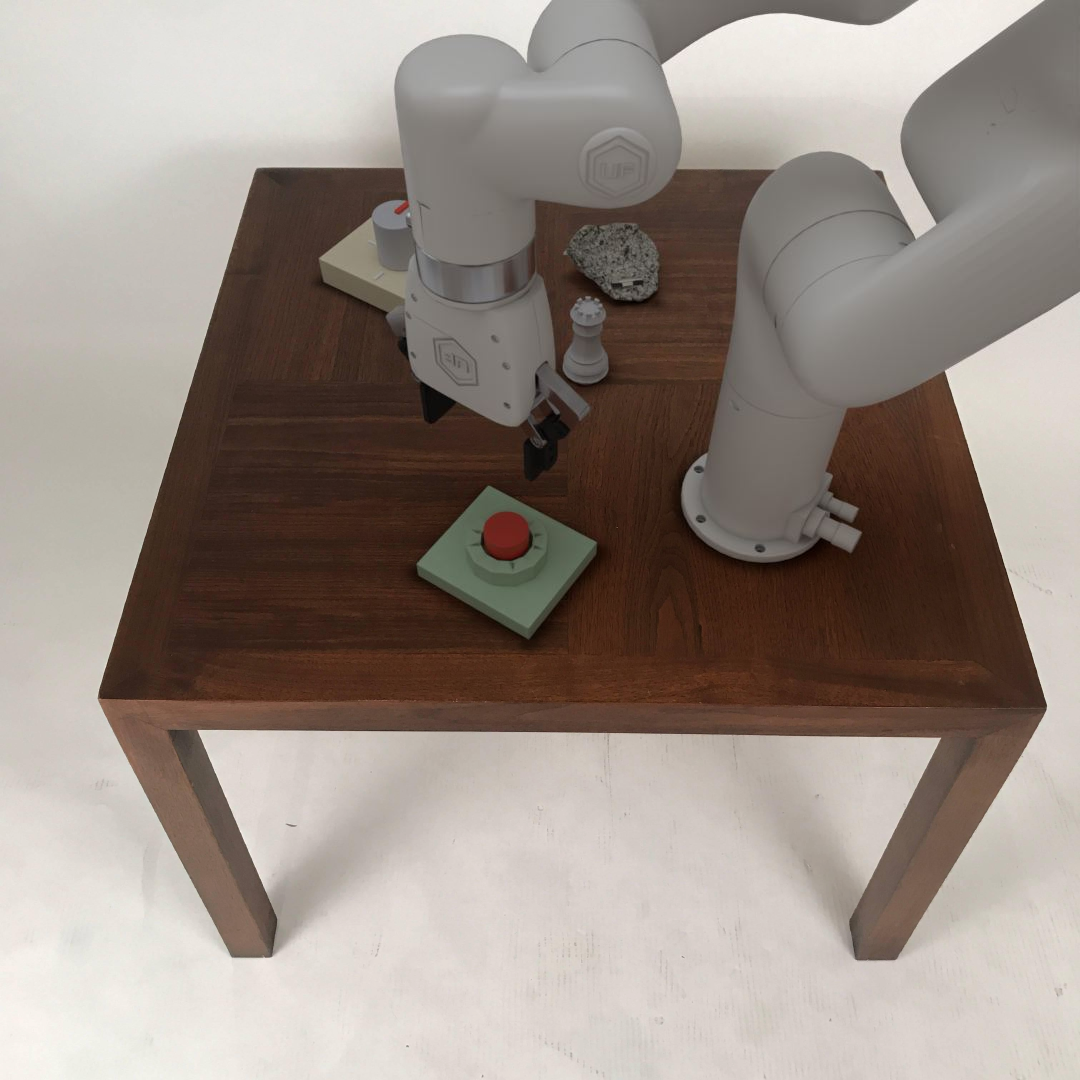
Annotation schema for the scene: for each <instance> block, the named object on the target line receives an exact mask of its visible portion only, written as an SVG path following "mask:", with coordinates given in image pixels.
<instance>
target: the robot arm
mask: <svg viewBox="0 0 1080 1080" xmlns="http://www.w3.org/2000/svg"><path fill="white" fill-rule="evenodd" d="M918 1H919V0H550V2H549V3H548V4H547V5H546V7H545V8H544V9H543V10H542V12H541V13H540V15H539V16H538V19H536V22H535V23H534V26H533V28H532V31H531V33H530V37H529V40H528V45H527V51H526V59H525V58H524V57H523V55H522V54H521V53H520V52H519V51H518V50H517V49H516V48H514V47H513V46H511V45H510V44H508V43H507V42H505V41H502V40H500V39H498V38H495V37H491V36H488V35H483V34H482V35H481V34H475V33H474V34H471V33H459V34H450V35H443V36H440V37H439V36H438V37H436V38H432V39H430V40H427V41H425V42H423V43H421V44H419V45H418V46H416V47H414V48H413V49H412V50H410V51H409V53H407V54H406V55H405V56H404V57H403V59H402V61H401V62H400V64H399V65H398V68H397V71H396V74H395V77H394V85H393V93H394V104H395V113H396V120H397V128H398V136H399V143H400V150H401V158H402V166H403V172H404V180H405V188H406V195H407V200H408V202H409V211H408V213H407V216H406V224H407V226H408V227H410V228H412V232H413V242H414V249H415V254H414V255H413V256H412V257H411V259H410V261H409V267H408V272H407V279H406V288H405V306H397V307H396V308H395V309H393V310H392V311H391V312H390V313H388V312H387V314H386V315H385V319H386V321H387V323H388V325H389V328H390V329H391V331H392V333H393V335H394V338H395V339H398V342H397V347H398V350H399V352H401V353H402V355H403V356H404V358H405V359H406V360H407V361H408V363H409V364H410V367H411V369H410V371H409V373H410V376H411V377H412V379H413V380H414V381H415V382H417V383H419V385H418V386H419V387H418V388H419V394H420V402H421V407H422V414H423V421H424V422H426V423H427V424H429V425H433V424H436V423H437V422H438V421H439V420H441V418H442V417H444V415H446V414H447V413H448V412H449V411H450V410H451V409H452V408H453V407H454V406H455V405H456V404H457V403H459V404H461V405H462V406H464V407H466V408H468V409H470V410H472V411H473V412H475V413H477V414H479V415H481V416H484V418H486V419H489V420H490V421H493V422H495V423H497V424H499V425H502V426H505V427H511V428H517V427H520V428H521V429H522V431H523V432H524V434H525V435H526V437H527V438H526V439H525V441H524V442H523V445H522V446H523V447H522V448H523V449H522V450H523V476H525V479H526V480H527V481H530V482H531V483H532V482H534V481H535V480H536V479H537V478H538V477H539V476H540V475H541V474H542V473H543V472H544V471H545V472H548V471H550V470H551V469H552V468H553V467H554V466H555V464H556V463H557V460H558V458H559V441H560V440H563V439H566V437H567V436H569V434H570V433H572V431H573V430H574V429H575V428H576V427H577V426H578V425H579V424H580V423H581V422H582V421H583V420H584V419H585V418H586V417H587V416H588V415H589V413H590V412H591V406H590V404H589V403H588V402H587V401H586V400H585V399H584V398H583V397H582V396H580V394H578V392H577V391H576V390H574V389H573V388H572V387H571V386H570V385H569V383H567V382H566V381H565V379H563V378H562V377H561V376H560V375H559V374H558V373H557V372H556V369H557V368H556V348H555V337H554V335H555V334H554V328H553V326H554V325H553V320H552V315H551V308H550V303H549V298H548V293H547V289H546V286H545V283H544V282H545V281H544V278H543V276H542V275H541V274H539V272H537V225H536V201H542V202H549V203H557V204H561V205H568V206H574V207H581V208H588V209H600V210H601V209H603V210H604V209H605V210H606V209H607V210H610V209H613V210H614V209H621V208H629V207H632V206H636V205H639V204H642V203H644V202H646V201H648V200H650V199H652V198H653V197H655V196H656V195H657V194H659V193H660V192H661V191H662V190H663V189H664V188H666V186H667V185H668V184H669V182H670V181H671V180H672V178H673V177H674V175H675V173H676V172H677V169H678V166H679V164H680V160H681V156H682V151H683V150H682V147H683V133H682V125H681V121H680V117H679V114H678V110H677V107H676V104H675V101H674V98H673V96H672V93H671V90H670V87H669V84H668V80H667V77H666V74H665V71H664V68H663V65H664V64H665V63H667V62H669V60H671V59H672V58H674V57H676V56H677V55H678V54H679V53H680V52H682V51H684V50H685V49H687V48H688V47H690V46H691V45H692V44H694V43H695V42H697V41H699V40H700V39H702V38H704V37H706V36H707V35H709V34H710V33H713V32H715V31H717V30H719V29H721V28H722V27H725V26H728V25H731V24H732V23H735V22H738V21H741V20H745V19H748V18H752V17H756V16H757V17H758V16H764V15H769V14H770V15H773V14H777V15H778V14H785V15H786V14H787V15H797V16H803V17H804V16H805V17H809V18H814V19H819V20H824V21H828V22H833V23H839V24H840V23H841V24H847V25H855V26H875V25H879V24H882V23H883V24H884V22H887V21H889V20H891V19H892V18H894V17H896V16H897V15H899V14H900V13H902V12H903V11H905V10H906V9H908V8H909V7H911V6H912V5H914V4H915V3H916V2H918ZM899 135H900V138H899V139H900V150H901V155H902V159H903V162H904V164H905V167H906V169H907V172H908V174H909V175H910V178H911V179H912V181H913V184H914V186H915V188H916V190H917V192H918V194H919V195H920V197H921V199H922V201H923V204H925V206H926V208H927V210H928V211H929V213H930V215H931V218H932V219H933V221H934V222H935V225H934V226H932V227H931V228H930V229H929V230H927V231H926V232H923V234H921V235H920V236H918V237H917V238H916V236H915V234H914V232H913V230H912V229H911V227H910V225H909V223H908V221H907V219H906V218H905V216H904V214H903V212H902V211H901V208H900V207H899V204H898V202H897V201H896V199H895V197H894V196H893V194H892V193H891V190H889V187H887V185H886V184H885V182H884V181H883V180H882V179H881V177H879V175H878V174H877V173H876V172H875V171H874V170H873V169H872V168H871V167H869V165H867V164H865V163H864V162H863V161H861V160H860V159H857V158H855V157H853V156H851V155H848V154H845V153H843V152H836V151H830V150H829V151H827V150H826V151H825V150H824V151H821V150H820V151H813V152H808V153H805V154H801V155H799V156H796V157H793V158H792V159H790V160H788V161H787V162H785V163H783V164H782V165H780V166H779V167H777V168H776V169H775V170H774V171H773V172H771V174H769V175H768V176H767V178H765V180H764V181H763V182H762V183H761V184H760V186H759V187H758V189H757V190H756V192H755V194H754V195H753V197H752V198H751V200H750V203H749V205H748V207H747V209H746V212H745V215H744V218H743V222H742V226H741V230H740V235H739V241H738V242H739V243H738V252H737V265H736V267H737V268H736V270H737V271H736V290H735V302H734V303H735V304H734V311H733V312H734V313H733V321H732V326H731V334H730V339H729V344H728V349H727V355H726V360H725V364H724V369H723V372H722V373H723V375H722V379H721V384H720V389H719V395H718V399H717V404H716V409H715V414H714V419H713V424H712V428H711V434H710V439H709V444H708V449H707V452H705V453H704V454H702V455H701V456H700V457H699V458H698V459H696V460H695V461H694V462H693V463H692V465H691V466H690V467H689V469H688V470H687V472H686V473H685V475H684V479H683V481H682V486H681V493H680V505H681V509H682V513H683V516H684V518H685V520H686V522H687V524H688V526H689V527H690V529H691V530H692V531H693V532H694V533H695V535H696V536H697V537H698V538H699V539H700V540H701V541H703V543H705V544H706V545H707V546H709V547H710V548H713V549H714V550H716V551H717V552H719V553H721V554H723V555H726V556H728V557H730V558H732V559H737V560H741V561H744V562H751V563H762V564H763V563H777V562H782V561H785V560H790V559H793V558H795V557H797V556H799V555H803V554H804V553H805V552H806V551H808V550H810V549H811V548H813V546H814V545H815V544H816V543H817V542H818V541H820V539H823V540H825V541H828V542H830V544H831V545H833V546H835V547H838V548H839V549H842V550H843V551H845V552H847V553H849V554H852V553H853V551H854V549H855V548H856V546H857V544H858V542H859V540H860V538H861V536H862V534H863V532H862V531H861V530H859V529H856V528H854V527H852V526H850V525H848V524H846V523H844V522H839V521H836V520H835V519H833V518H831V517H830V515H831V514H832V515H834V516H836V517H837V518H838V519H839V518H840V519H841V520H843V521H846V522H848V523H850V524H852V523H853V522H854V520H855V518H856V516H857V515H858V512H859V510H860V508H859V507H857V506H855V505H852V504H851V503H849V502H846V501H842V500H840V499H838V498H835V497H834V493H833V492H831V491H829V489H830V486H831V483H832V480H833V477H834V475H833V474H832V473H829V472H828V471H826V470H827V468H828V465H829V463H830V460H831V457H832V454H833V451H834V448H835V445H836V442H837V439H838V436H839V434H840V431H841V429H842V425H843V422H844V420H845V416H846V414H847V411H848V409H856V408H861V407H862V408H863V407H867V406H872V405H877V404H880V403H883V402H885V401H888V400H891V399H893V398H896V397H898V396H900V395H902V394H904V393H906V392H908V391H910V390H912V389H915V388H917V387H918V386H920V385H921V384H924V383H926V382H927V381H929V380H931V379H933V378H935V377H936V376H939V375H940V374H942V373H943V372H945V371H947V370H949V369H950V368H952V367H954V366H956V365H957V364H958V363H960V362H961V363H962V361H964V360H967V359H968V358H970V357H971V356H974V355H975V354H977V353H978V352H981V350H984V349H985V348H987V347H988V346H991V345H992V344H994V343H996V342H997V341H1000V340H1001V339H1003V338H1005V337H1006V336H1008V335H1010V334H1012V333H1013V332H1015V331H1017V330H1018V329H1020V328H1022V327H1024V326H1025V325H1027V324H1029V323H1030V322H1032V321H1034V320H1036V319H1037V318H1039V317H1041V316H1042V315H1045V314H1046V313H1048V312H1050V311H1051V310H1053V309H1055V308H1056V307H1058V306H1060V305H1061V304H1062V303H1065V302H1066V301H1067V300H1069V299H1071V298H1072V297H1074V296H1075V295H1077V294H1078V293H1080V0H1043V1H1041V2H1040V3H1038V4H1037V5H1035V6H1034V7H1033V8H1032V9H1030V10H1029V11H1028V12H1026V13H1025V14H1023V15H1022V16H1020V17H1019V18H1018V19H1017V20H1015V21H1014V22H1013V23H1011V24H1010V25H1008V26H1007V27H1006V28H1005V29H1003V30H1002V31H1000V32H999V33H998V34H996V35H995V36H993V37H992V38H990V40H988V41H987V42H985V43H984V44H983V45H981V46H980V47H979V48H976V50H975V51H973V52H972V53H970V54H969V55H967V56H966V57H965V58H964V59H962V60H960V62H958V63H957V64H956V65H954V66H953V67H952V68H950V69H949V70H947V71H946V72H944V74H941V76H940V77H938V78H937V79H936V80H935V81H933V82H932V83H931V84H930V85H929V86H927V88H925V90H923V92H921V93H920V94H919V95H918V97H917V98H916V99H915V100H914V102H913V103H912V104H911V106H910V108H909V109H908V111H907V113H906V114H905V116H904V119H903V121H902V126H901V130H900V134H899ZM537 407H538V408H539V409H540V411H541V413H542V414H543V416H544V417H545V418H543V419H542V420H541V421H540V423H538V422H537V420H536V419H535V417H534V415H533V414H532V412H533V411H534V410H535V409H536V408H537Z"/></svg>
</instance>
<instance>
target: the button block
mask: <svg viewBox="0 0 1080 1080" xmlns="http://www.w3.org/2000/svg"><path fill="white" fill-rule="evenodd" d="M504 511H509V512H515V513H517V514H519V515H521V516H522V517H524V518H525V520H526V521H527V523H528V525H529V546H528V549H527V550H526V552H525V553H524V554H523V555H522V556H520V557H518V558H516V559H512V560H500V559H497V558H495V557H493V556H491V555H490V554H489V553H488V552H487V550H486V548H485V544H484V532H483V528H484V525H485V522H486V521H487V520H488V519H489V518H490V517H491V516H492V515H494V514H496V513H499V512H504ZM597 547H598V542H597V541H595V540H593V539H591V538H590V537H588V536H586V535H584V534H582V533H580V532H578V531H576V530H574V529H572V528H571V527H569V526H567V525H565V524H563V523H562V522H559V521H557V520H555V519H554V518H552V517H550V516H547V515H546V514H544V513H543V512H540V511H538V510H536V509H535V508H533V507H530V506H529V505H527V504H525V503H523V502H521V501H519V500H517V499H515V498H514V497H512V496H510V495H508V494H506V493H504V492H503V491H500V490H498V489H497V488H494V487H492V486H490V485H487V487H485V489H483V491H482V492H481V493H480V494H479V495H478V496H477V497H476V498H475V499H474V500H473V501H472V503H471V504H469V506H468V507H467V508H466V509H465V511H463V512H462V514H460V516H458V518H457V519H456V520H455V522H453V523H452V524H451V525H450V527H449V528H448V529H447V530H446V531H445V532H444V533H443V534H442V536H440V537H439V538H438V540H436V541H435V543H434V544H433V545H432V546H431V547H430V548H429V549H428V551H426V552H425V554H424V555H423V556H422V557H421V558H420V560H419V561H418V562H417V563H416V569H417V575H418V576H419V577H420V578H422V579H424V580H426V581H427V582H429V583H430V584H433V585H434V586H436V587H438V588H439V589H441V590H442V591H444V592H446V593H447V594H449V595H451V596H453V597H455V598H457V599H458V600H460V601H462V602H463V603H465V604H467V605H469V606H470V607H472V608H474V609H475V610H477V611H479V612H480V613H482V614H484V615H485V616H488V617H489V618H491V619H493V620H495V621H496V622H498V623H500V624H502V625H503V626H504V627H506V628H508V629H510V630H511V631H513V632H515V633H517V634H519V636H522V637H524V638H525V639H527V640H530V639H531V637H532V636H533V635H534V634H535V633H536V631H537V630H539V627H540V626H541V625H542V624H543V622H544V621H545V620H546V619H547V618H548V616H549V615H550V613H551V612H552V611H553V610H554V608H555V607H556V606H557V604H558V603H559V602H560V601H561V599H562V598H563V597H564V596H565V594H566V593H567V592H568V591H569V589H570V588H571V587H572V585H573V584H575V582H576V580H578V578H579V577H580V575H581V574H582V573H583V572H584V570H585V569H586V568H587V567H588V565H589V564H590V563H591V561H592V560H593V559H594V557H595V556H596V555H597V550H598V549H597Z"/></svg>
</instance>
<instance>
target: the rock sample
mask: <svg viewBox="0 0 1080 1080" xmlns="http://www.w3.org/2000/svg"><path fill="white" fill-rule="evenodd" d="M566 246H568V248H565V250H564V252H563V255H564V256H567V257H568V258H569V259H570V261H572V263H573V265H574V267H575V268H576V270H577V271H578V272H580V273H581V274H583V275H584V276H585V277H587V278H589V280H592V281H593V282H594V283H596V284H597V285H598V287H599V288H600V290H602V291H603V293H605V294H607V295H608V296H610V297H611V298H612V299H614V300H616V301H625V302H640V303H641V302H643V301H644V300H646V299H648V298H650V297H651V296H652V295H653V294H655V292H657V291H658V289H659V285H660V284H659V275H658V271H659V269H660V267H661V264H660V261H658V258H659V257H660V254H659V251H657V245H656V244H655V243H654V241H653V239H651V237H649V236H648V234H647V233H646V232H645V231H641V230H640V229H639V226H638V224H637V223H635V222H630V221H628V222H611V223H608V224H605V225H604V224H602V225H595V224H584V225H583V226H581V228H580V229H578V231H575V233H574V235H573V236H572V238H571V239H570V241H568V243H567V244H566ZM659 249H660V248H658V250H659Z"/></svg>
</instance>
